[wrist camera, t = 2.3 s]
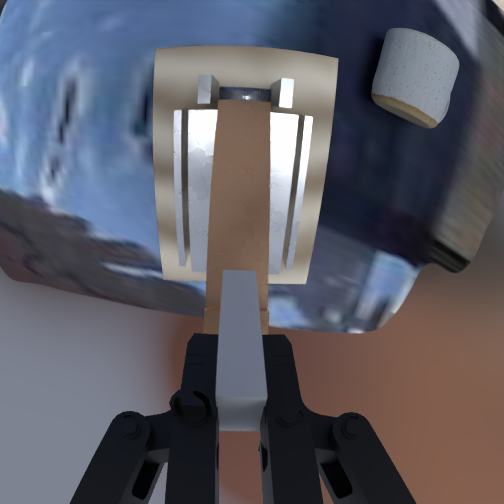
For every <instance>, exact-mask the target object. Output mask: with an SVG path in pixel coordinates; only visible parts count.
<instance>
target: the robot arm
mask: <svg viewBox="0 0 504 504" xmlns="http://www.w3.org/2000/svg"><path fill="white" fill-rule="evenodd" d="M169 404H170V407H171V410H169V411H167V412H166V413H162V414H157V415H151V416H145V417H144V416H143V415H141V414H140V413H138V412H133V411H127V412H122V413H120V414H118V415H117V416H116V417H115V418H114V419H113V420H112V422H111V424H110V426H109V428H108V430H107V432H106V433H105V435H104V437H103V439H102V441H101V443H100V445H99V447H98V448H97V450H96V452H95V454H94V456H93V458H92V460H91V462H90V464H89V466H88V468H87V470H86V472H85V474H84V476H83V478H82V480H81V482H80V484H79V486H78V488H77V490H76V492H75V494H74V496H73V498H72V500H71V502H70V504H148V502H149V500H150V497H151V495H152V493H153V490H154V488H155V485H156V483H157V480H158V478H159V475H160V473H161V470H162V468H163V465H164V463H165V462H168V470H167V481H166V493H165V504H219V430H222V431H259V430H260V431H261V441H260V444H259V449H258V451H260V457H261V474H262V490H263V504H323V498H322V492H321V485H320V478H319V473H320V475H321V477H322V480H323V482H324V484H325V486H326V488H327V490H328V492H329V494H330V496H331V499H332V501H333V503H334V504H416V502H415V500H414V499H413V497H412V495H411V493H410V492H409V490H408V488H407V486H406V485H405V483H404V481H403V479H402V478H401V476H400V474H399V472H398V471H397V469H396V467H395V466H394V464H393V462H392V461H391V459H390V457H389V455H388V454H387V452H386V450H385V449H384V447H383V445H382V443H381V442H380V440H379V438H378V437H377V435H376V433H375V432H374V430H373V428H372V426H371V425H370V423H369V421H368V420H367V419H366V418H365V417H364V416H362V415H360V414H358V413H353V412H349V413H344V414H342V415H340V416H339V417H337V418H336V417H331V416H325V415H320V414H317V413H314V412H312V411H311V410H309V409H308V408H307V407H306V406H305V405H304V403H303V402H302V398H301V395H300V390H299V383H298V378H297V372H296V367H295V361H294V357H293V350H292V345H291V343H290V342H289V340H288V339H287V338H286V336H285V335H262V331H261V320H260V310H259V299H258V288H257V277H256V271H249V270H223V281H222V294H221V308H220V323H219V334H200V333H194V335H193V336H192V338H191V339H190V340H189V342H188V344H187V350H186V357H185V365H184V370H183V377H182V384H181V390H178V391H177V392H176V393H175V394H174V395H173V396H172V397H171V400H170V402H169ZM318 471H319V472H318Z"/></svg>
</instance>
